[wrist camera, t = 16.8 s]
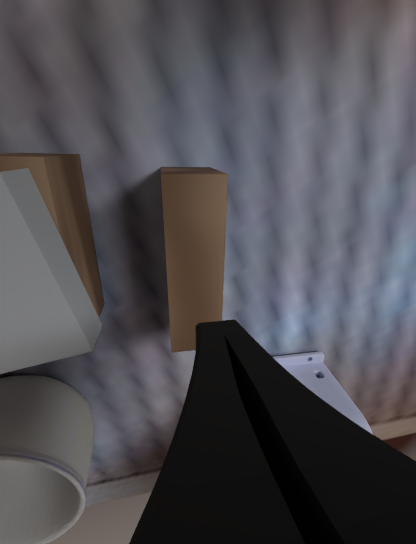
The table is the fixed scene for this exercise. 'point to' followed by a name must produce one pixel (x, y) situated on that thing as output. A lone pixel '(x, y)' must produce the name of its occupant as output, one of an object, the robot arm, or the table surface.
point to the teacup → (42, 458)
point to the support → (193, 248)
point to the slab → (38, 283)
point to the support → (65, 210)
